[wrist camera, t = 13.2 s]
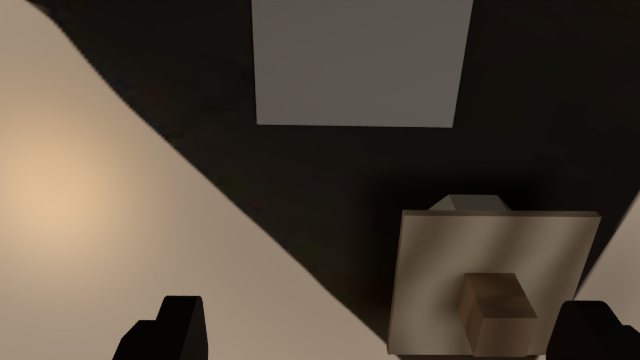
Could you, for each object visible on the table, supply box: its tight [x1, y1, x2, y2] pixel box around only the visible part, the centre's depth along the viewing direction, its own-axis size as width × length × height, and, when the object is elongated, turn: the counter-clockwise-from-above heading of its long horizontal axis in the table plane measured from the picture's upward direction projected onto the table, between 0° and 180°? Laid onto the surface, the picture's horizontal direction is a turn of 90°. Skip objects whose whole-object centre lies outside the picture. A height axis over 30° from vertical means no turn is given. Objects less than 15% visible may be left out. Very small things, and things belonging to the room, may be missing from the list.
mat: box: [252, 0, 473, 127], centre depth 37 cm, size 16×16×1 cm
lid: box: [387, 210, 601, 357], centre depth 40 cm, size 15×15×6 cm
